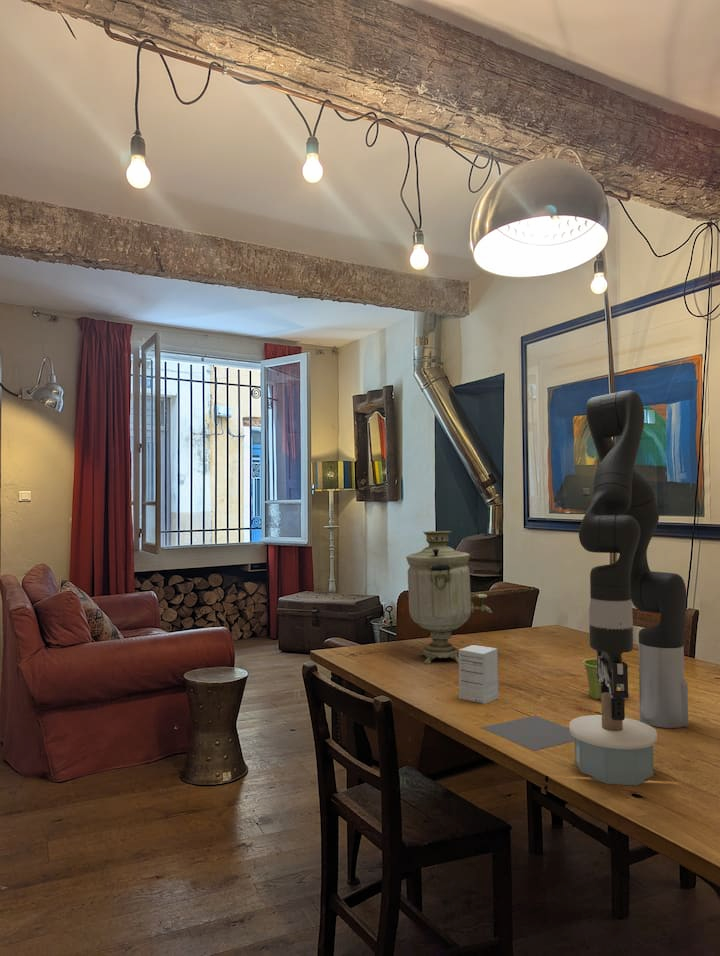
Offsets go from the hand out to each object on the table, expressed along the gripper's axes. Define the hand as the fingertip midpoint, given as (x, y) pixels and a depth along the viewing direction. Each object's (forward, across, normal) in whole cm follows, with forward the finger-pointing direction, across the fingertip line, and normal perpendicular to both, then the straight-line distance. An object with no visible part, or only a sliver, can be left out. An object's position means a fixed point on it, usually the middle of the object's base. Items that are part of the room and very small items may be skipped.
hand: (612, 712), depth 124 cm
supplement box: (+11, +42, +23) cm, 49 cm away
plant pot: (+11, +48, -8) cm, 50 cm away
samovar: (+11, +84, +31) cm, 90 cm away
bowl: (+10, 0, 0) cm, 10 cm away
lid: (+4, 0, 0) cm, 4 cm away
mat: (+10, +18, +12) cm, 24 cm away
